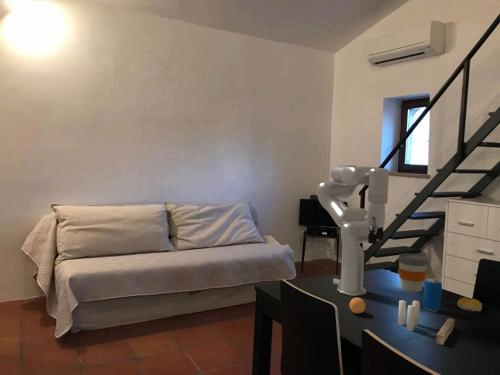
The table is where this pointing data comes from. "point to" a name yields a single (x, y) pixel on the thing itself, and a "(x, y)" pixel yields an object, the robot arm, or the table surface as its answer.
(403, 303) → the front pin
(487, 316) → the table surface
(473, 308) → the bread roll
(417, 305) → the pin
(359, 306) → the ball
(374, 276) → the table surface
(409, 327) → the pin
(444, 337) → the cream long bar
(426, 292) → the beverage can
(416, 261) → the reusable coffee cup
